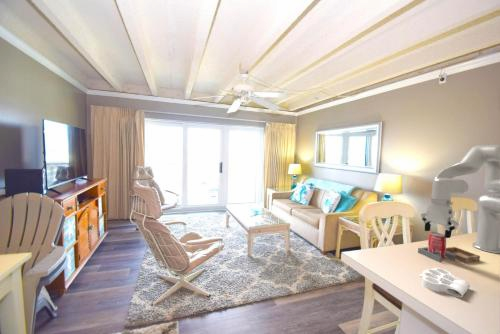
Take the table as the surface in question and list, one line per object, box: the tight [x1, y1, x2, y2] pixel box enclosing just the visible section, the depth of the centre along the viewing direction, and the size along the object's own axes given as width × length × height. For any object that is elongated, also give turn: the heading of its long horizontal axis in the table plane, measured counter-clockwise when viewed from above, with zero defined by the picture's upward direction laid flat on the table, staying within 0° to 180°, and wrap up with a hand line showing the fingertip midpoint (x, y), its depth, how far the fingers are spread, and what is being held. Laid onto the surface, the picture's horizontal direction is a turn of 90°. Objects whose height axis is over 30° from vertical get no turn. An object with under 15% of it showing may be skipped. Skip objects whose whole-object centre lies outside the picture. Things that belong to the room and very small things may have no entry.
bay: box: [417, 246, 456, 263], centre depth 114 cm, size 11×11×2 cm
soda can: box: [427, 231, 447, 259], centre depth 114 cm, size 7×7×12 cm
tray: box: [446, 246, 481, 264], centre depth 115 cm, size 11×11×2 cm
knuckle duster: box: [418, 267, 471, 299], centre depth 89 cm, size 3×18×15 cm
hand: (436, 234), depth 114 cm, fingers open, 9 cm apart
